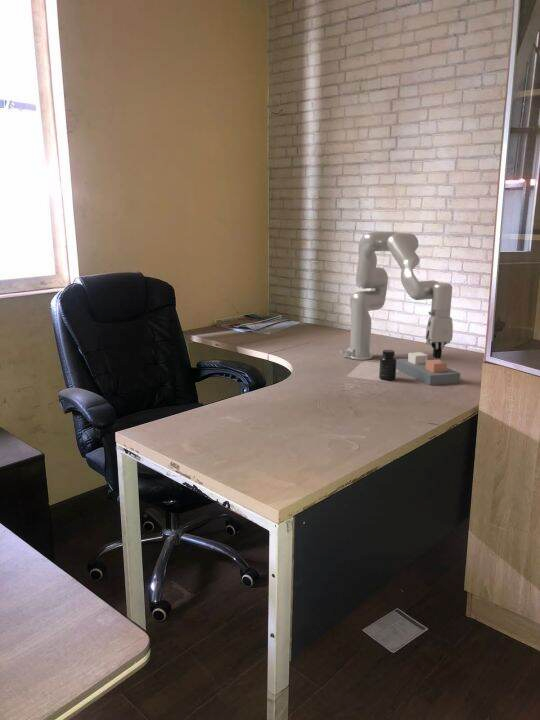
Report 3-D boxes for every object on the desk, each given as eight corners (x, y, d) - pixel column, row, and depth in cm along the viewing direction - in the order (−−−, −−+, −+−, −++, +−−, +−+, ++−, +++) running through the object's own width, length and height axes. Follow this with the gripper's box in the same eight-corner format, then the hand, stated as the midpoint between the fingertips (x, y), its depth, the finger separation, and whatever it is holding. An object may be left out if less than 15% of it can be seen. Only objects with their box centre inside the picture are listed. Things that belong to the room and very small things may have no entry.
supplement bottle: (385, 375, 246) (386, 348, 243) (398, 379, 241) (400, 351, 238) (375, 378, 241) (377, 350, 238) (389, 382, 236) (391, 353, 233)
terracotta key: (433, 375, 237) (434, 363, 236) (425, 372, 242) (426, 360, 241) (445, 374, 239) (446, 362, 237) (437, 371, 244) (438, 359, 243)
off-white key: (414, 367, 250) (415, 356, 249) (407, 364, 255) (408, 352, 254) (427, 366, 252) (427, 355, 250) (419, 363, 257) (420, 352, 256)
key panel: (429, 385, 233) (430, 375, 232) (394, 368, 258) (395, 359, 257) (459, 382, 237) (460, 373, 236) (422, 366, 263) (422, 357, 262)
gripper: (429, 316, 229) (426, 361, 233) (461, 314, 233) (457, 358, 238) (419, 313, 236) (416, 357, 240) (450, 311, 240) (447, 354, 245)
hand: (436, 357), depth 239 cm, fingers closed
